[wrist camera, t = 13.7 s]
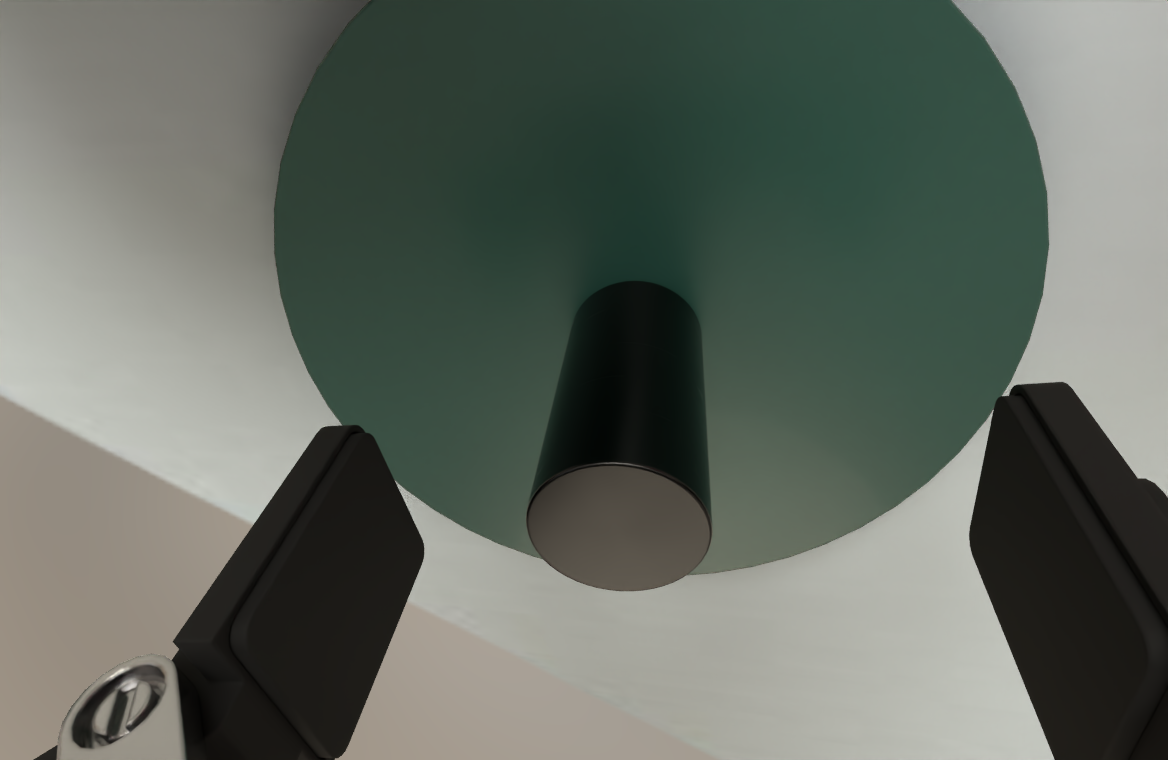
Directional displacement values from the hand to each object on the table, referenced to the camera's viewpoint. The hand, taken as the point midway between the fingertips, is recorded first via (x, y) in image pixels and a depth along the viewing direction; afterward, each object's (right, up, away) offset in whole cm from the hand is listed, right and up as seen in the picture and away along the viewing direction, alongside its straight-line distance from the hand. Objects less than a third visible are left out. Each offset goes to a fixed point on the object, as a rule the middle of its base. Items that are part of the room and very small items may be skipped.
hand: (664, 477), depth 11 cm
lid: (0, +3, +5) cm, 5 cm away
